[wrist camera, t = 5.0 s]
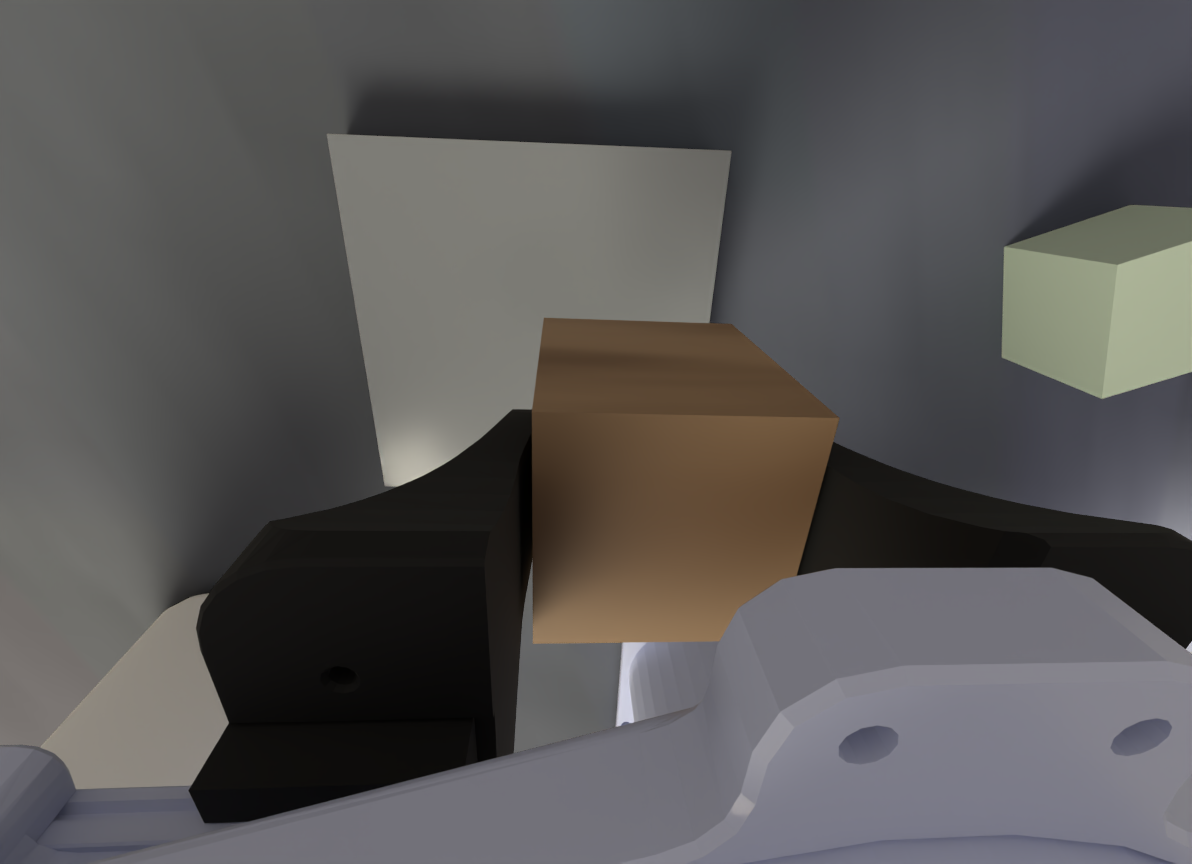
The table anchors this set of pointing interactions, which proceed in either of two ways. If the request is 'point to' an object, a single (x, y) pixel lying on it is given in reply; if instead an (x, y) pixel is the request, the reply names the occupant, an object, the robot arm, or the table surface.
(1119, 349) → the pale green block
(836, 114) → the table surface
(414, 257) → the grey square tile
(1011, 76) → the table surface
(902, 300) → the table surface
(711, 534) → the walnut block
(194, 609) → the potion bottle
